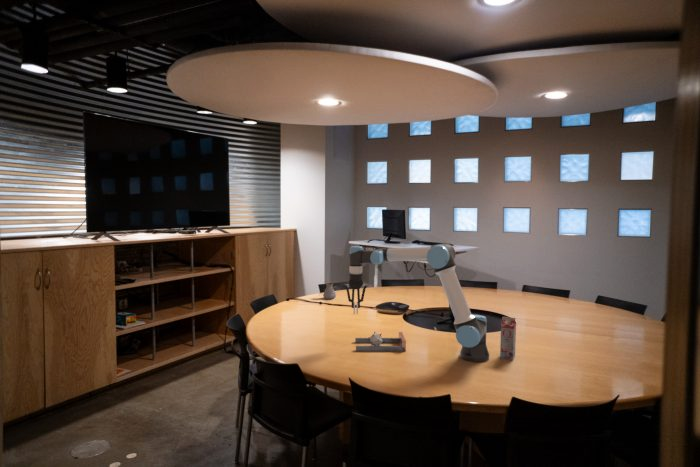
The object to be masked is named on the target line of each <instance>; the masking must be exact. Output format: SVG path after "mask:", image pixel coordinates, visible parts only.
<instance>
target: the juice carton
mask: <svg viewBox="0 0 700 467" xmlns="http://www.w3.org/2000/svg"><path fill="white" fill-rule="evenodd" d="M516 335H517V322H516V318H515V317H510V316H502V318H501V322H500V348H499V349H500V351H499V355H500V356H499V358H500V359H501V360H502V359H503V360H509V361H510V360H511V361H514V360H515V358H516V341H517V339H516V337H517V336H516Z"/></svg>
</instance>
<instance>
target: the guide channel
mask: <svg viewBox="0 0 700 467" xmlns="http://www.w3.org/2000/svg"><path fill="white" fill-rule="evenodd" d="M382 339H383V341H384V342H382V343H381V344H399V345H379V346H373V345H372V346H371V345H355V352H406V351H407V348H406V347H407V346H406V345H407V343H406V342H407V340H406V338H405V335H404V334H403V332H402V331H398V337H382ZM354 340H355V341H354V343H355V344H371V341H370V337H369V338H368V337H355V339H354Z"/></svg>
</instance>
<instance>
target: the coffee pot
mask: <svg viewBox="0 0 700 467" xmlns="http://www.w3.org/2000/svg"><path fill="white" fill-rule="evenodd" d="M345 284H346V283H345V282H343V283H339V284H337V285H336V286H333V285H334V283H330V282H329V283H326V284H325V285H326V288H325V289H324V291H323V295H322V297H323V298H324V299H325V300H334V299H335V298H336V296H337V294H336V292H335V290H334V289H335V288H337V287H340V286H342V285H345Z"/></svg>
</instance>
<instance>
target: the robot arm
mask: <svg viewBox="0 0 700 467" xmlns="http://www.w3.org/2000/svg"><path fill="white" fill-rule="evenodd" d="M455 258H456V250H455V248H454V247H453V245H451V244H450V243H446V242H445V243H443V242H442V243H439V244H432V245H430V246H423V247H422V246H417V247H397V248H396V247H390V248H385V247H382V248H378V249H377V248H376V249H372V250H365V249H363V246H360V245H352V246H350V247H349V268H348V270H349V274H348V276H349V280H348V282H347V283H345V284H344V288H345V289H346V294H347V299H348V302H349V303H351V309H353V315H355V314H356V315H359V309H360V307H361V303H362V302H364V298H365V293H366V289H367V287H368V284H365V283H364V282H363V264H367V265H369V264H370V265H381V264H382V263H383V262H407V261H409V262H412V261H413V262H416V261H417V262H421V261H423V262H424V261H427V263H428V266H431V268H432V269H433V272H434V274H435V275H437V276H438V277H439V279H440V282H441V285H442V287H443V288H442V289H443V290H444V293H445V296H446V299H447V301H448V304H449V307H450V310H451V312H452V314H453V317H454V322H453V326H454V328H455V331H456V332H455V338H456V342H457V343H459V345H461V348H460V351H459V353H460V354H459V357H460V358H461V359H463V360H465V361H468V362H469V361H470V362H474V363H482V362H488V361H489V360H490V353H489V350H488V345H487V324H488V321H487V316H485V315H480V314H472V312H471V309H470V308H469V304H468V302H467V300H466V297H465V294H464V291H463V288H462V286H461V283H460V280H459V278H458V275H457V273H456V270H455V269H456V266H457V264H456V262H455ZM349 288H351V293H350V289H349ZM361 288H362V294H361V292H360V289H361ZM355 290H357V291H356V292H357V301H355ZM360 294H361V295H360Z"/></svg>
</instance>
